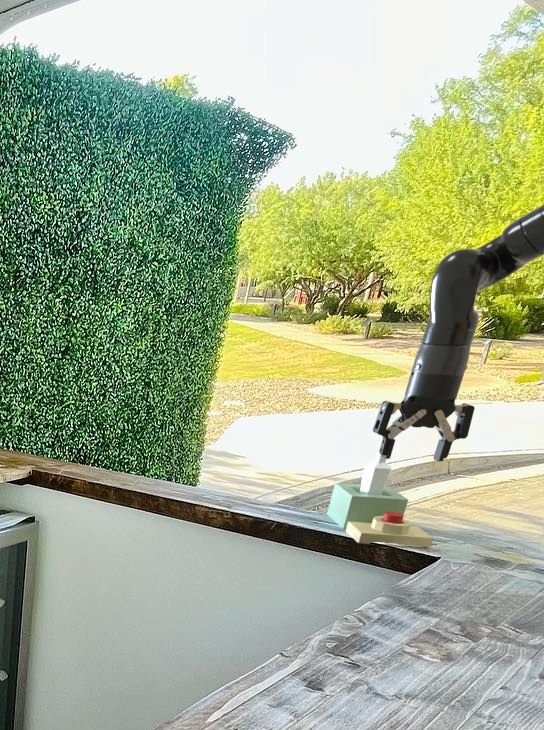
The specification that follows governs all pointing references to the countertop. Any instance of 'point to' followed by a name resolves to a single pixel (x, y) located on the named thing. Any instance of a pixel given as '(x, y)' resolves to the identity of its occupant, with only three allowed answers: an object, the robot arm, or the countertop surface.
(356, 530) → the control box
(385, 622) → the countertop surface
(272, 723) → the countertop surface
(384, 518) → the release button
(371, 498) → the bottle holder
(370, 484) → the perfume bottle
